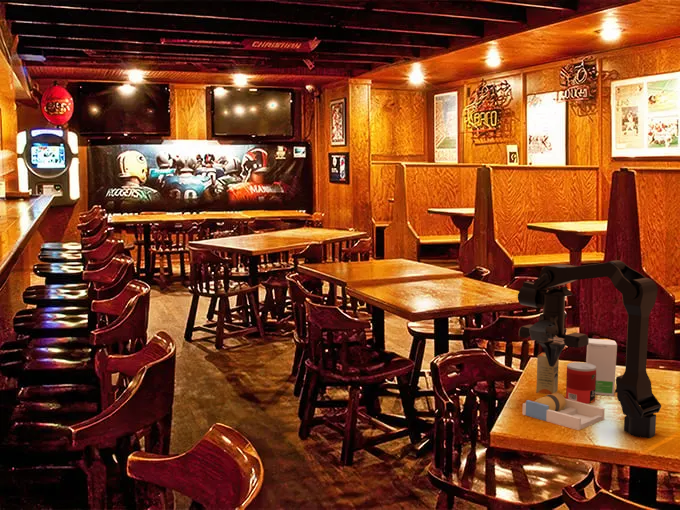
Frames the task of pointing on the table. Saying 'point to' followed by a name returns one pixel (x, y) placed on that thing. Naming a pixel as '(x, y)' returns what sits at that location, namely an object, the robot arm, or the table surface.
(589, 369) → the canned food
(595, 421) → the white storage bin
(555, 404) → the banded tan cylinder
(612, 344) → the skincare box
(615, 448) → the table surface
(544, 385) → the shoe polish box
